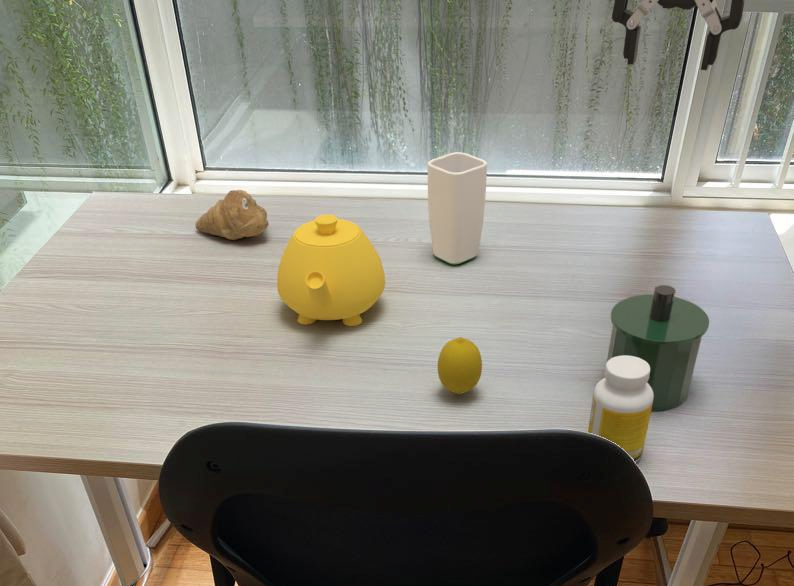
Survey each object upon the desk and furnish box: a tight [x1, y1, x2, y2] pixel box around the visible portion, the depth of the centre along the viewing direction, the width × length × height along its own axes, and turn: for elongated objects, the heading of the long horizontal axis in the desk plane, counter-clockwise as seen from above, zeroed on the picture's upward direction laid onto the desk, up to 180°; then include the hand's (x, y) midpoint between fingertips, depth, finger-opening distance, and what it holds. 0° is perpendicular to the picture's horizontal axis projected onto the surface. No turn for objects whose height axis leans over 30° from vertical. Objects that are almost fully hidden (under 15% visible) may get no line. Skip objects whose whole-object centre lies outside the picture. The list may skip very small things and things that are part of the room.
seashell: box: [195, 189, 270, 241], centre depth 147 cm, size 14×8×8 cm
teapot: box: [276, 213, 386, 327], centre depth 123 cm, size 20×16×14 cm
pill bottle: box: [587, 355, 654, 463], centre depth 98 cm, size 6×6×12 cm
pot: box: [603, 325, 703, 412], centre depth 108 cm, size 10×10×10 cm
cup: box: [427, 151, 488, 266], centre depth 135 cm, size 7×7×15 cm
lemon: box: [437, 336, 483, 395], centre depth 109 cm, size 6×6×8 cm
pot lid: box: [610, 284, 710, 345], centre depth 104 cm, size 11×11×5 cm
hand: (667, 65), depth 104 cm, fingers open, 8 cm apart
